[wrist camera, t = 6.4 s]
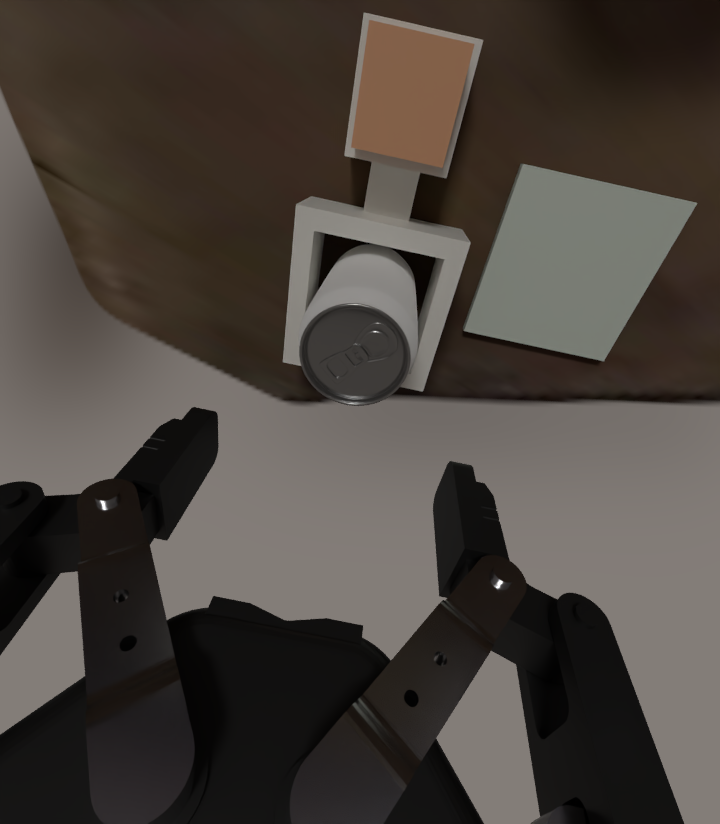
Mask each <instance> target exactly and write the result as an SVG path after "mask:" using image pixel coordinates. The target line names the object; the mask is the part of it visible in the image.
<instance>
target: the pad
mask: <svg viewBox="0 0 720 824" xmlns="http://www.w3.org/2000/svg"><path fill="white" fill-rule="evenodd" d="M696 205H697V203H695V202H690V201H686V200H681V199H677V198H673V197H668V196H664V195H659V194H655V193H650V192H646V191H641V190H637V189H633V188H628V187H624V186H619V185H615V184H610V183H606V182H601V181H597V180H592V179H588V178H584V177H579V176H575V175H570V174H566V173H561V172H557V171H552V170H548V169H544V168H539V167H535V166H530V165H526V164H520V167H519V170H518V173H517V176H516V178H515V181H514V184H513V187H512V190H511V193H510V195H509V198H508V201H507V204H506V207H505V210H504V213H503V215H502V218H501V221H500V224H499V227H498V230H497V232H496V235H495V238H494V241H493V244H492V247H491V250H490V252H489V255H488V258H487V261H486V264H485V267H484V269H483V272H482V275H481V278H480V281H479V284H478V287H477V289H476V292H475V295H474V298H473V301H472V304H471V307H470V309H469V312H468V315H467V318H466V321H465V324H464V326H463V330H464V331H466V332H470V333H475V334H480V335H484V336H489V337H494V338H498V339H503V340H508V341H512V342H517V343H521V344H526V345H531V346H535V347H540V348H545V349H549V350H554V351H559V352H563V353H568V354H573V355H577V356H582V357H586V358H591V359H596V360H600V361H604V360H605V358H606V356H607V355H608V353H609V351H610V350H611V348H612V346H613V345H614V343H615V341H616V340H617V338H618V336H619V334H620V333H621V331H622V329H623V328H624V326H625V324H626V323H627V321H628V319H629V318H630V316H631V314H632V313H633V311H634V309H635V307H636V306H637V304H638V302H639V301H640V299H641V297H642V296H643V294H644V292H645V291H646V289H647V287H648V286H649V284H650V282H651V280H652V279H653V277H654V275H655V274H656V272H657V270H658V269H659V267H660V265H661V264H662V262H663V260H664V259H665V257H666V255H667V253H668V252H669V250H670V248H671V247H672V245H673V243H674V242H675V240H676V238H677V237H678V235H679V233H680V232H681V230H682V228H683V226H684V225H685V223H686V221H687V220H688V218H689V216H690V215H691V213H692V211H693V210H694V208H695V206H696Z"/></svg>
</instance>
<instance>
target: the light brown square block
mask: <svg viewBox="0 0 720 824" xmlns="http://www.w3.org/2000/svg"><path fill="white" fill-rule="evenodd" d="M474 45H475V44H472V43H468V42H464V41H459V40H455V39H451V38H446V37H442V36H438V35H433V34H429V33H425V32H420V31H416V30H412V29H407V28H403V27H399V26H394V25H390V24H386V23H381V22H377V21H373V20H369V25H368V32H367V39H366V46H365V53H364V60H363V67H362V74H361V81H360V88H359V95H358V102H357V109H356V116H355V123H354V130H353V137H352V144H351V148H356V149H360V150H365V151H369V152H374V153H378V154H383V155H387V156H391V157H396V158H400V159H405V160H409V161H414V162H418V163H423V164H427V165H432V166H436V167H441V168H443V165H444V161H445V157H446V153H447V149H448V145H449V142H450V138H451V134H452V130H453V126H454V122H455V118H456V114H457V111H458V107H459V103H460V99H461V95H462V91H463V87H464V83H465V80H466V76H467V72H468V68H469V64H470V60H471V56H472V52H473V49H474Z"/></svg>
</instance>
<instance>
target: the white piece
mask: <svg viewBox="0 0 720 824" xmlns="http://www.w3.org/2000/svg"><path fill="white" fill-rule="evenodd" d="M369 20H373V21H377V22H381V23H386V24H390V25H394V26H399V27H403V28H407V29H412V30H416V31H420V32H425V33H429V34H433V35H438V36H442V37H446V38H451V39H455V40H459V41H464V42H468V43H472V44H475V45H474V49H473V52H472V56H471V60H470V64H469V68H468V72H467V76H466V80H465V83H464V87H463V91H462V95H461V99H460V103H459V107H458V111H457V114H456V118H455V122H454V126H453V130H452V134H451V138H450V142H449V145H448V149H447V153H446V157H445V161H444V165H443V168H441V167H436V166H432V165H427V164H423V163H418V162H414V161H409V160H405V159H400V158H396V157H391V156H387V155H383V154H378V153H374V152H369V151H365V150H360V149H356V148H351V144H352V137H353V130H354V123H355V116H356V109H357V102H358V95H359V88H360V81H361V74H362V67H363V60H364V53H365V46H366V39H367V32H368V25H369ZM482 43H483V40H481V39H477V38H472V37H468V36H464V35H459V34H455V33H451V32H446V31H442V30H438V29H433V28H429V27H425V26H420V25H416V24H412V23H407V22H403V21H399V20H394V19H390V18H386V17H381V16H377V15H373V14H368V13H364V16H363V23H362V31H361V38H360V45H359V53H358V60H357V67H356V75H355V82H354V89H353V96H352V104H351V111H350V118H349V126H348V133H347V140H346V148H345V155H344V156H348V157H352V158H357V159H361V160H366V161H370V162H372V163H371V169H370V175H369V181H368V187H367V193H366V198H365V204H364V208H363V207H358V206H353V205H349V204H344V203H340V202H335V201H331V200H326V199H322V198H317V197H313V196H311V197H309V198H307V199H305V200H303V201H302V202H300V203H298V204H296V212H295V224H294V235H293V247H292V259H291V271H290V283H289V295H288V307H287V319H286V331H285V343H284V355H283V362H285V363H290V364H295V365H299V366H301V363H300V357H299V341H298V337H299V329H300V325H301V321H302V319H303V316H304V314H305V312H306V310H307V308H308V307H309V305H310V303H311V301H312V300H313V298H314V296H315V295H316V293H317V292H318V284H319V276H320V268H321V260H322V252H323V244H324V236H325V233H326V234H331V235H336V236H340V237H345V238H349V239H354V240H358V241H363V242H368V243H372V244H377V245H381V246H386V247H390V248H395V249H400V250H404V251H409V252H413V253H418V254H422V255H427V256H432V257H436V259H435V262H434V266H433V269H432V273H431V277H430V280H429V284H428V287H427V291H426V294H425V298H424V302H423V305H422V309H421V312H420V316H419V319H418V350H417V355H416V359H415V362H414V364H413V367H412V369H411V370H410V372H409V373H408V375H407V376H406V378H405V380H404V382H403V383H402V385H401V386H400V387H403V388H408V389H413V390H417V391H422V392H423V390H424V386H425V383H426V380H427V377H428V374H429V371H430V368H431V365H432V362H433V358H434V355H435V352H436V349H437V346H438V343H439V340H440V337H441V334H442V330H443V327H444V324H445V321H446V318H447V315H448V312H449V309H450V306H451V302H452V299H453V296H454V293H455V290H456V287H457V284H458V281H459V278H460V274H461V271H462V268H463V265H464V262H465V259H466V256H467V253H468V250H469V246H470V243H471V242H470V241H469V239H468V238H467V236H466V235H465V233H464V232H463V230H462V229H458V228H453V227H449V226H444V225H440V224H435V223H431V222H426V221H421V220H417V219H412V218H410V214H411V210H412V205H413V201H414V197H415V192H416V188H417V184H418V179H419V175H420V173H424V174H429V175H433V176H437V177H442V178H447V175H448V171H449V167H450V163H451V160H452V156H453V152H454V148H455V145H456V141H457V137H458V133H459V130H460V126H461V122H462V118H463V114H464V111H465V107H466V103H467V99H468V96H469V92H470V88H471V84H472V81H473V77H474V73H475V69H476V66H477V62H478V58H479V54H480V51H481V47H482Z"/></svg>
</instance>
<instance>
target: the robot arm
mask: <svg viewBox="0 0 720 824" xmlns="http://www.w3.org/2000/svg"><path fill="white" fill-rule="evenodd" d="M217 453H218V416H217V413H216V412H215V411H210V410H205V409H200V408H196V407H193V408H191V409H190V411H189V412H188V413H187V414H186V415H185V417H184V418H183V419H182V420H179V419H172V420H170V421H168V422H167V423H165V424H163V425H161V426H160V427H159V428H158V429H157V430H156V431H155V432H154V433H153V435H152V436H151V437H150V439H148V440H147V441H146V442H145V443H144V445H143V447H142V448H140V449H139V450H138V451H137V452H136V454H135V455H134V456H133V457H132V458H131V459H130V461H129V462H128V463H127V464H126V465H125V466H124V467H123V468H122V470H121V471H120V472H119V473H118V474H117V475H116V476H115V477H114V479H107V480H103V481H99V482H97V483H94V484H92V485H90V486H89V487H87V488H86V489H85V490H84V491H83V492H82V493H81V494H75V495H55V496H45V495H44V493H43V490H42V488H41V487H40V486H39V485H37V484H35V483H31V482H24V481H23V482H12V483H7V484H4V485H1V486H0V655H1V654H2V652H3V651H4V649H5V648H6V647H7V645H8V644H9V643H10V641H11V640H12V638H13V637H14V636H15V634H16V633H17V632H18V630H19V629H20V628H21V626H22V625H23V623H24V622H25V621H26V619H27V618H28V617H29V615H30V614H31V613H32V611H33V610H34V609H35V607H36V606H37V604H38V603H39V602H40V600H41V599H42V597H43V596H44V595H45V593H46V592H47V590H48V589H49V588H50V587H51V585H52V584H53V583H54V581H55V580H56V578H57V577H58V576H59V574H60V573H65V572H75V571H78V581H79V596H80V608H81V609H80V610H81V623H82V637H83V651H84V665H85V677H83V678H82V679H80V680H79V681H77V682H76V683H74V684H73V685H72V686H70V687H69V688H67V689H66V690H64V691H63V692H61V693H60V694H59V695H57V696H56V697H54V698H53V699H52V700H50V701H48V702H47V703H45V704H44V705H43V706H41V707H40V708H38V709H37V710H35V711H34V712H32V713H31V714H30V715H28V716H27V717H25V718H24V719H22V720H21V721H19V722H18V723H17V724H15V725H14V726H12V727H11V728H9V729H8V730H6V731H5V732H4V733H2V734H1V735H0V824H484V823H483V821H482V820H481V818H480V816H479V814H478V812H477V811H476V809H475V807H474V805H473V803H472V802H471V800H470V799H469V796H468V795H467V793H466V791H465V789H464V787H463V786H462V784H461V782H460V780H459V778H458V777H457V775H456V773H455V772H454V770H453V768H452V766H451V765H450V762H449V761H448V759H447V757H446V756H445V754H444V752H443V750H442V748H441V746H440V745H439V743H438V741H437V739H436V737H437V736H438V734H439V733H440V731H441V729H442V728H443V726H444V725H445V723H446V721H447V720H448V718H449V716H450V715H451V713H452V712H453V710H454V709H455V707H456V705H457V704H458V702H459V701H460V699H461V698H462V696H463V694H464V693H465V691H466V690H467V688H468V686H469V685H470V683H471V682H472V680H473V678H474V677H475V675H476V674H477V672H478V670H479V669H480V667H481V666H482V664H483V662H484V661H485V659H486V658H487V656H488V655H489V653H490V651H493V652H495V653H497V654H499V655H500V656H502V657H504V658H506V659H508V660H509V661H511V662H513V663H515V664H516V666H517V672H518V678H519V685H520V690H521V698H522V703H523V710H524V717H525V723H526V729H527V735H528V742H529V748H530V754H531V761H532V767H533V774H534V779H535V786H536V793H537V798H538V805H539V812H540V818H538V819H536V820H535V821H533V822H532V823H531V824H684V822H683V819H682V817H681V814H680V811H679V808H678V806H677V803H676V800H675V798H674V795H673V792H672V789H671V787H670V784H669V782H668V779H667V776H666V774H665V771H664V768H663V765H662V762H661V760H660V757H659V755H658V752H657V749H656V746H655V744H654V741H653V738H652V735H651V733H650V730H649V727H648V725H647V722H646V719H645V717H644V714H643V711H642V709H641V706H640V703H639V700H638V698H637V695H636V692H635V690H634V687H633V685H632V682H631V679H630V676H629V674H628V671H627V668H626V666H625V663H624V660H623V657H622V655H621V652H620V649H619V646H618V644H617V641H616V638H615V636H614V633H613V630H612V628H611V625H610V623H609V621H608V619H607V617H606V615H605V614H604V613H603V612H602V610H601V609H600V608H599V607H598V606H597V605H596V604H595V603H593V602H592V601H591V600H589V599H587V598H586V597H584V596H582V595H578V594H576V593H566V594H563V595H562V596H560V597H559V599H558V600H557V599H555V598H553V597H551V596H549V595H547V594H545V593H543V592H541V591H539V590H537V589H535V588H533V587H531V586H530V585H529V584H527V583H526V580H525V578H524V576H523V574H522V572H521V571H520V570H519V569H518V568H517V566H516V565H514V564H513V563H512V562H510V560H509V557H508V553H507V549H506V545H505V541H504V537H503V533H502V529H501V525H500V522H499V517H498V513H497V511H496V505H495V500H494V496H493V495H492V493H491V492H490V490H489V489H488V488H487V486H486V485H485V484H484V483H480V482H476V479H475V475H474V470H473V467H472V466H471V465H466V464H462V463H456V462H452V461H450V462H449V463H448V464H447V467H446V469H445V472H444V474H443V477H442V479H441V481H440V484H439V486H438V489H437V491H436V494H435V498H434V504H433V515H434V528H435V542H436V554H437V555H436V556H437V570H438V582H439V583H438V584H439V596H441V597H446V598H447V599H446V600H445V601H444V600H443V601H442V602H441V603H440V604H439V605H438V606H437V607H436V608H435V609H434V611H433V612H432V613H431V614H430V615H429V617H428V618H427V619H426V620H425V621H424V622H423V624H422V625H421V626H420V627H419V628H418V630H417V631H416V632H415V633H414V634H413V635H412V637H411V638H410V639H409V640H408V641H407V643H406V644H405V645H404V646H403V647H402V649H401V650H400V651H399V652H398V653H397V654H396V656H395V657H394V658H393V659H392V660H390V659H389V658H388V657H387V656H386V655H385V654H384V653H383V652H382V651H381V650H380V649H378V648H377V647H376V646H375V645H373V644H372V643H370V642H369V641H367V640H365V639H364V638H362V631H363V626H362V625H357V624H352V623H347V622H342V621H337V620H332V619H327V618H325V619H310V620H295V621H286V620H283V619H281V618H279V617H277V616H274V615H273V614H271V613H269V612H267V611H265V610H262V609H261V608H259V607H257V606H255V605H252V604H251V603H245V602H241V601H236V600H231V599H226V598H220V597H216V596H213V598H212V600H211V603H210V605H209V607H208V608H201V609H196V610H191V611H188V612H185V613H182V614H179V615H177V616H175V617H172V618H171V619H169V620H166V615H165V611H164V606H163V602H162V597H161V594H160V588H159V584H158V580H157V576H156V571H155V566H154V562H153V558H152V553H151V549H150V544H151V542H152V541H153V539H154V538H157V539H162V540H168V538H169V537H170V535H171V533H172V532H173V530H174V528H175V527H176V525H177V523H178V522H179V520H180V519H181V517H182V515H183V514H184V512H185V510H186V509H187V507H188V505H189V504H190V502H191V500H192V499H193V497H194V496H195V494H196V492H197V491H198V489H199V487H200V486H201V484H202V482H203V481H204V479H205V477H206V476H207V474H208V472H209V471H210V469H211V467H212V466H213V464H214V462H215V460H216V457H217Z"/></svg>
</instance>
